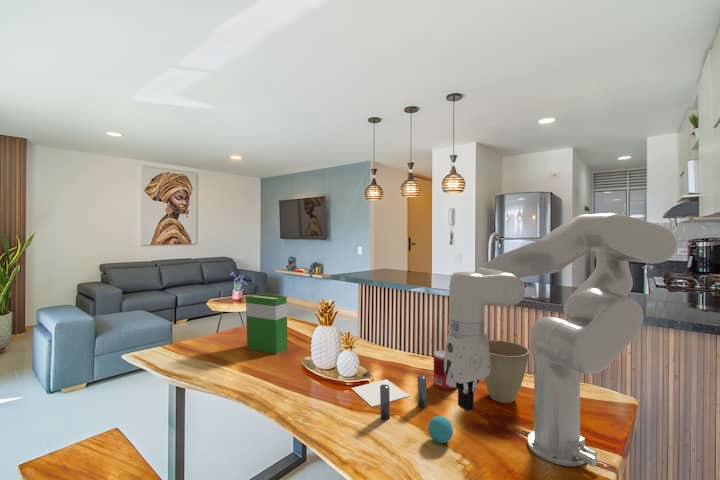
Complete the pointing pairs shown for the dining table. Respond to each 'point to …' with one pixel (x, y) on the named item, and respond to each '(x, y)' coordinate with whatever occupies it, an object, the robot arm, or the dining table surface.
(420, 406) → the right post
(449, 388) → the canned food
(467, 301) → the robot arm
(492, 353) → the plant pot
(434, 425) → the teal sphere
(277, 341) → the green cereal box
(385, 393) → the left post
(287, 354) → the dining table surface
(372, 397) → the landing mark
